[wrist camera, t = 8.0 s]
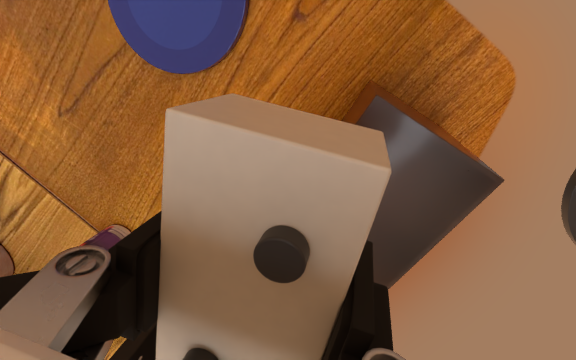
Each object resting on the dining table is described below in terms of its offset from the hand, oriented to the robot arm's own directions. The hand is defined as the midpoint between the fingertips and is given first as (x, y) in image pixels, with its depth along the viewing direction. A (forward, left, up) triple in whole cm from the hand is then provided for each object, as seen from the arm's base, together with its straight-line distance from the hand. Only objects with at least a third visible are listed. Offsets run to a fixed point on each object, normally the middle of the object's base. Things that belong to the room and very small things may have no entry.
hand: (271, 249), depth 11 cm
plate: (-2, -21, -25) cm, 33 cm away
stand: (+1, +5, -25) cm, 25 cm away
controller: (0, 0, -1) cm, 1 cm away
